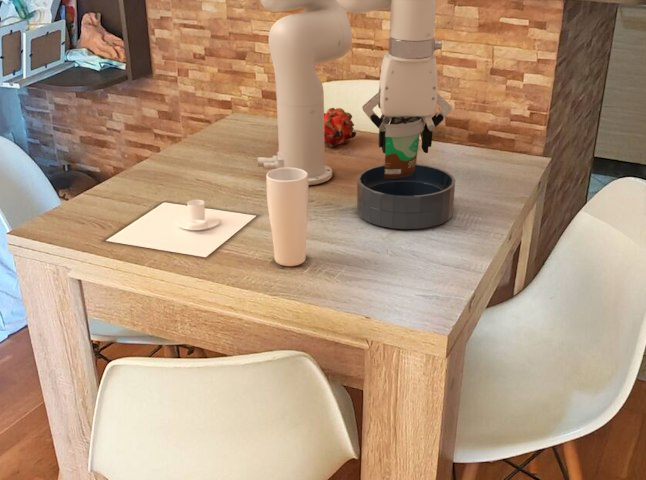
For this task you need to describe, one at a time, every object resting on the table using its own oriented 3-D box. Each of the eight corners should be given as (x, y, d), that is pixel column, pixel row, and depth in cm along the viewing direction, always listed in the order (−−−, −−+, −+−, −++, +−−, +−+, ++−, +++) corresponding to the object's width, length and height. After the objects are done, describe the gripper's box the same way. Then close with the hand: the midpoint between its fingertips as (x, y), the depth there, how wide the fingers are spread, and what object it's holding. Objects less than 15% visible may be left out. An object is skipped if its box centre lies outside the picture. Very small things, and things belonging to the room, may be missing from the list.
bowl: (362, 232, 148) (362, 198, 145) (352, 196, 163) (352, 164, 160) (461, 229, 149) (464, 195, 146) (442, 193, 165) (444, 162, 161)
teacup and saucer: (205, 236, 146) (203, 214, 144) (166, 230, 149) (163, 208, 147) (227, 219, 153) (226, 198, 151) (190, 213, 156) (187, 192, 153)
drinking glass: (269, 253, 141) (265, 167, 132) (309, 251, 141) (307, 166, 133) (270, 270, 135) (265, 181, 127) (311, 268, 135) (309, 180, 127)
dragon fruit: (337, 141, 199) (340, 164, 190) (308, 122, 195) (310, 144, 186) (358, 113, 195) (363, 135, 186) (329, 93, 191) (333, 115, 182)
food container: (417, 183, 147) (421, 127, 141) (383, 180, 148) (385, 125, 142) (424, 160, 157) (428, 107, 151) (393, 158, 158) (395, 105, 152)
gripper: (456, 43, 144) (447, 143, 154) (358, 43, 143) (355, 144, 153) (465, 53, 138) (455, 157, 148) (362, 53, 136) (359, 158, 147)
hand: (404, 149), depth 150 cm, fingers closed on food container, 6 cm apart
